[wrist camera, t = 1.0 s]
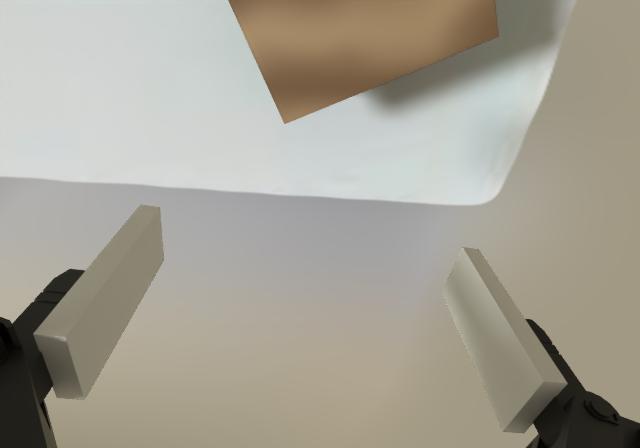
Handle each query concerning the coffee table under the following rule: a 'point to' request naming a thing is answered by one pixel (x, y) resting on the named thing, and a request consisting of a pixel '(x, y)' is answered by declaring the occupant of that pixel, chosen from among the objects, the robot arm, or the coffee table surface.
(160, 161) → the coffee table surface
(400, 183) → the coffee table surface
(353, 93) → the stool
